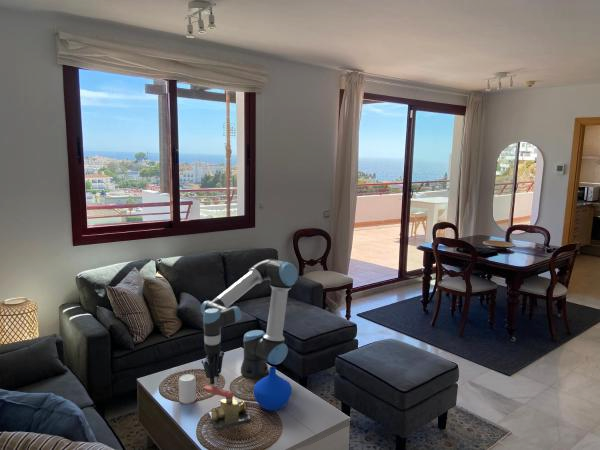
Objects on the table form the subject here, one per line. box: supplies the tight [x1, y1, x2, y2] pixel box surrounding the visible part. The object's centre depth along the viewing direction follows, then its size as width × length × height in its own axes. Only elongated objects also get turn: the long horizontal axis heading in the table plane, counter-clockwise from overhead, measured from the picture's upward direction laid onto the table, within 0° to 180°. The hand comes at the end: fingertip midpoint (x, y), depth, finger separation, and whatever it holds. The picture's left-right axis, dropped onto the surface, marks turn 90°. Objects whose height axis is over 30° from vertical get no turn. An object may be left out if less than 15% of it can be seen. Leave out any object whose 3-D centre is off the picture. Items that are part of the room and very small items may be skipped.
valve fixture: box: [208, 396, 252, 431], centre depth 205 cm, size 16×13×10 cm
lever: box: [202, 384, 234, 399], centre depth 206 cm, size 15×4×2 cm, turn 65°
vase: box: [253, 366, 292, 411], centre depth 215 cm, size 18×18×19 cm
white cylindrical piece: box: [178, 373, 197, 405], centre depth 219 cm, size 8×8×12 cm
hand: (214, 389), depth 210 cm, fingers closed
